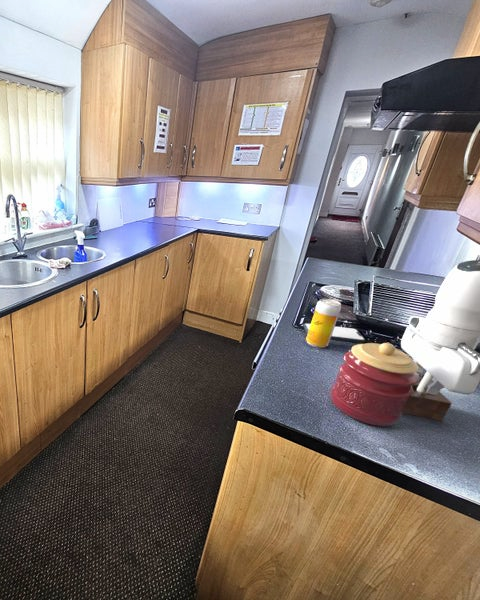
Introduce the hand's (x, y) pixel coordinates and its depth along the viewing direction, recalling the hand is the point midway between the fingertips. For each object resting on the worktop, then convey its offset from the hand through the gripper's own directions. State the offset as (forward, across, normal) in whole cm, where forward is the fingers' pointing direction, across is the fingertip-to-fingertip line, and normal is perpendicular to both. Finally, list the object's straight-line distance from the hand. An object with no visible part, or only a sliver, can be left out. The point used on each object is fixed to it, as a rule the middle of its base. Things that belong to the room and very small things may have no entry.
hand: (422, 385), depth 77 cm
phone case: (+6, +36, +6) cm, 37 cm away
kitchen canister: (+6, -5, +12) cm, 14 cm away
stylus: (+6, 0, 0) cm, 6 cm away
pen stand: (+6, 0, 0) cm, 6 cm away
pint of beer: (+6, +27, +13) cm, 31 cm away
